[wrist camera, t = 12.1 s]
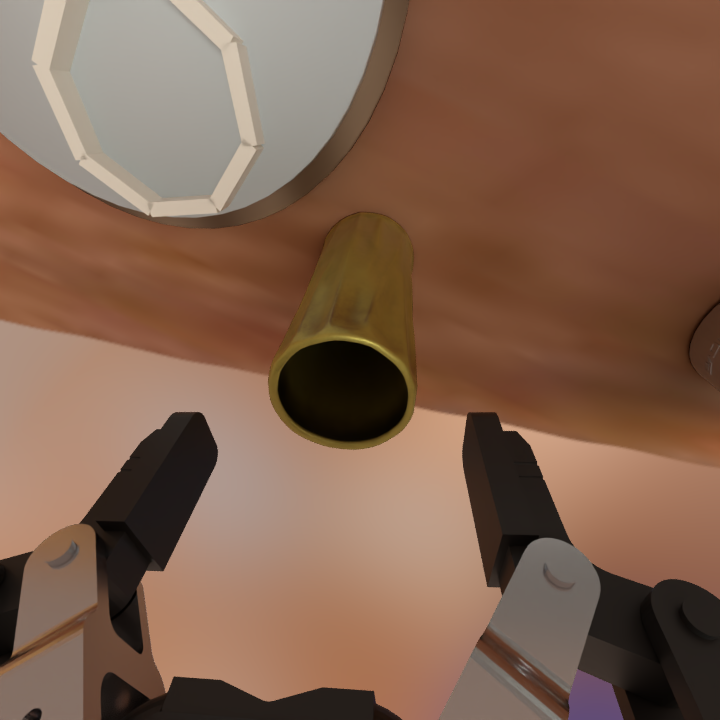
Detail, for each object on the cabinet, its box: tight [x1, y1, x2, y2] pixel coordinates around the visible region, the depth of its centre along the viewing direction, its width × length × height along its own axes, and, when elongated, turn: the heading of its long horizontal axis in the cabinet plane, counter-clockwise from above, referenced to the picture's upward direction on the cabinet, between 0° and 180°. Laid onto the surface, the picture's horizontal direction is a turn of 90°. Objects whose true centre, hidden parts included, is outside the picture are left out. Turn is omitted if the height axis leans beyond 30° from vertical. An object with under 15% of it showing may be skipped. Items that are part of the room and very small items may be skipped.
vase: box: [268, 212, 417, 449], centre depth 18 cm, size 6×6×14 cm
